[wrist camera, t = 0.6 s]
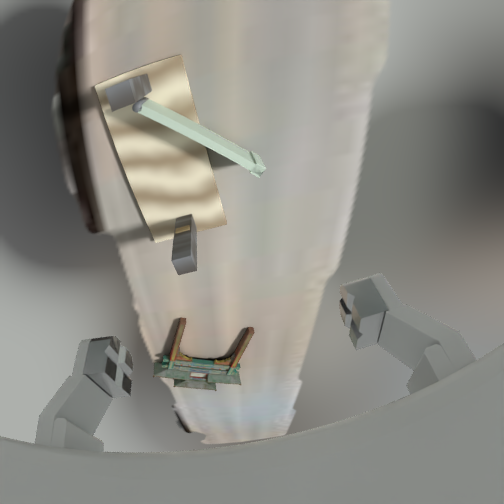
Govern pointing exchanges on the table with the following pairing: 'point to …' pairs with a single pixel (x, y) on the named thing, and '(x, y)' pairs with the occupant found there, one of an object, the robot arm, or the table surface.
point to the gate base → (163, 157)
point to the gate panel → (200, 134)
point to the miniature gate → (200, 365)
